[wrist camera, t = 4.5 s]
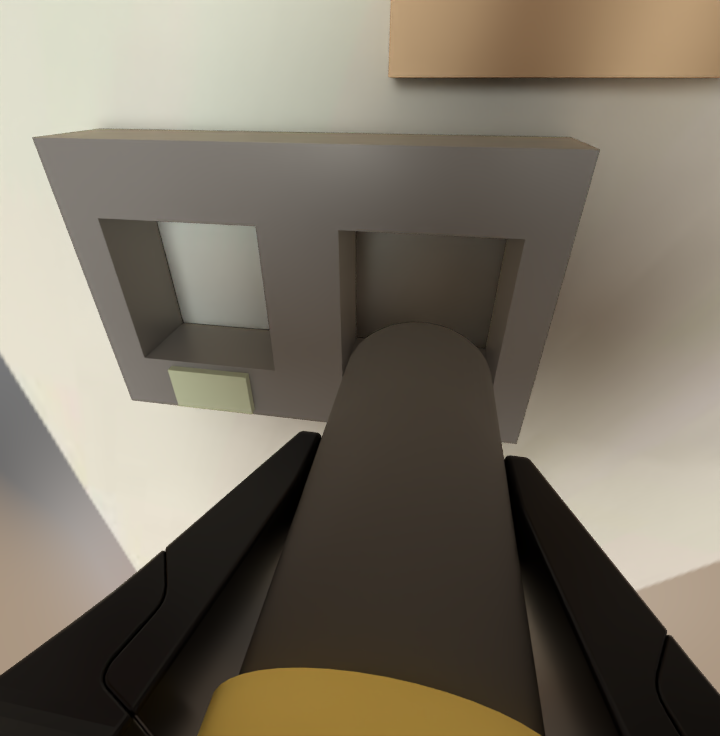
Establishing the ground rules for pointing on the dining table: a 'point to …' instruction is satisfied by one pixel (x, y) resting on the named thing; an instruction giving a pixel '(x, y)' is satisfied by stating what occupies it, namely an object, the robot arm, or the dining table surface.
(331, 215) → the socket board
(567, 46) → the brown block
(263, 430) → the dining table surface
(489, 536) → the plug
